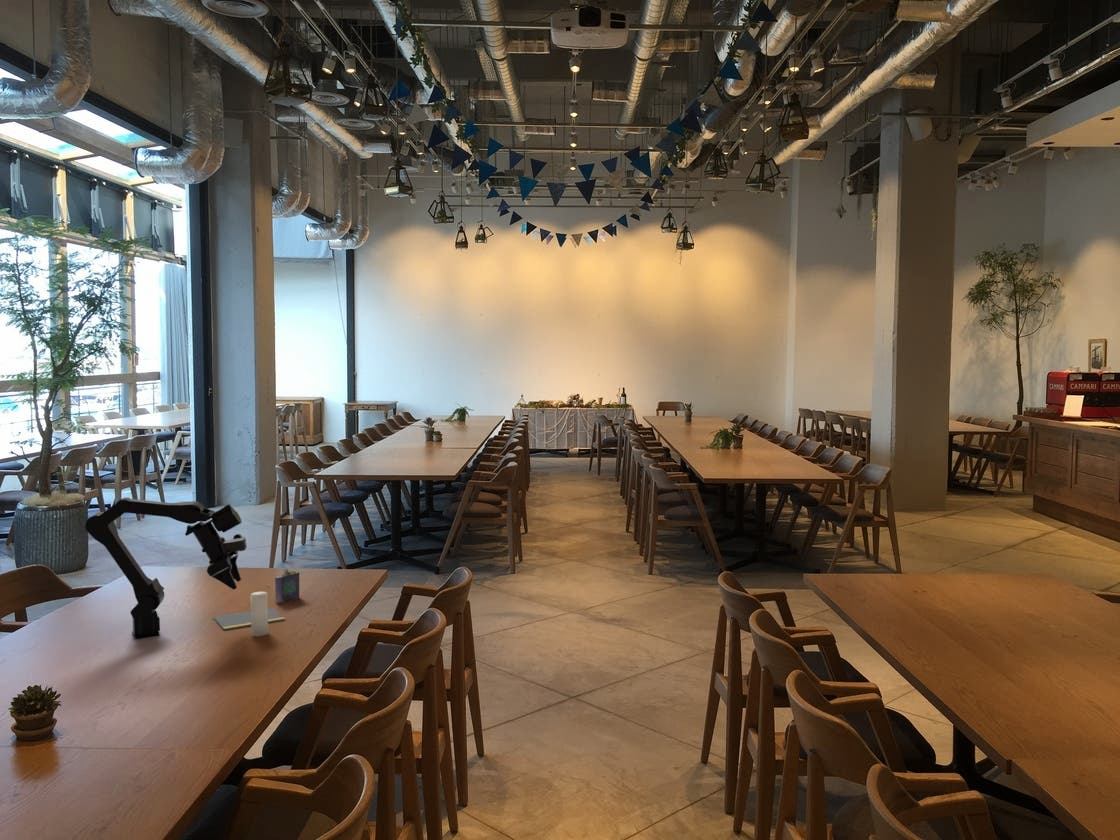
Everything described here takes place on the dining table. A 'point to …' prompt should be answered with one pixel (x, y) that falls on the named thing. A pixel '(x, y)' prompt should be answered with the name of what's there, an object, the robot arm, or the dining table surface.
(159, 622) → the robot arm
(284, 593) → the flask
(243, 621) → the mat
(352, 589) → the dining table surface
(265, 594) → the skittle
